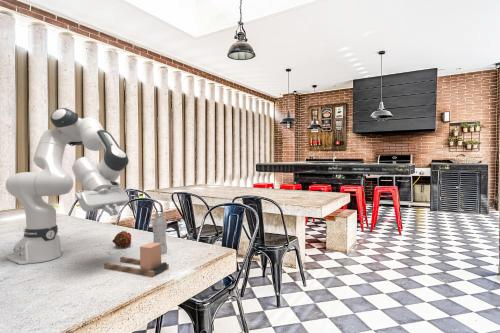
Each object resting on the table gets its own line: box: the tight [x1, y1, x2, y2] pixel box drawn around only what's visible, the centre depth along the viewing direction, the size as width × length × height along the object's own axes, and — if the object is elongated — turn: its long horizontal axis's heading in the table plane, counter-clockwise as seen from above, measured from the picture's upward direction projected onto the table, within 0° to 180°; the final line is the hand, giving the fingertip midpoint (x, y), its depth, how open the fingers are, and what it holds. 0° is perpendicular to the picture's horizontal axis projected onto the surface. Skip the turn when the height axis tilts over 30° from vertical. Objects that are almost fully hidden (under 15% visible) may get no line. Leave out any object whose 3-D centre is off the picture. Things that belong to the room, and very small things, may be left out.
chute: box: [103, 256, 170, 278], centre depth 116 cm, size 24×9×4 cm, turn 67°
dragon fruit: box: [111, 230, 132, 248], centre depth 151 cm, size 8×8×12 cm
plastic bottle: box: [152, 210, 168, 255], centre depth 137 cm, size 6×7×20 cm
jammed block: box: [139, 242, 162, 271], centre depth 113 cm, size 5×6×10 cm
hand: (114, 214), depth 117 cm, fingers closed
